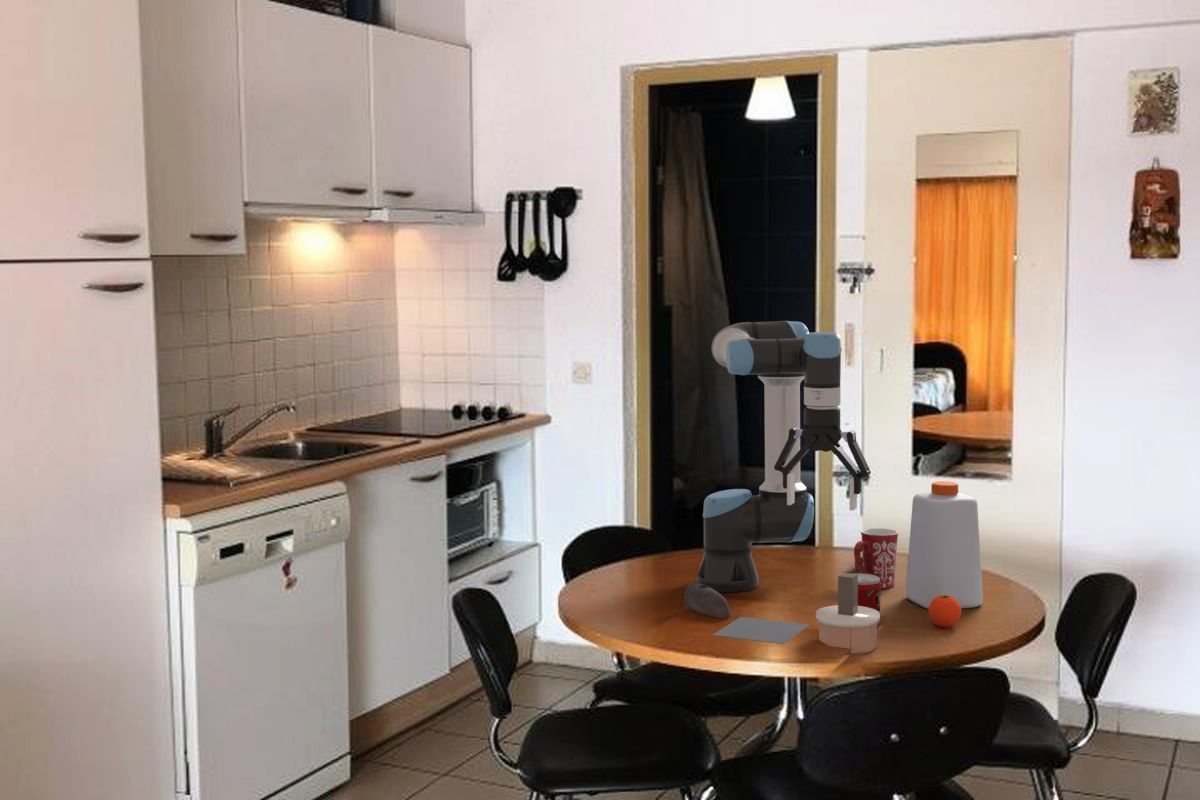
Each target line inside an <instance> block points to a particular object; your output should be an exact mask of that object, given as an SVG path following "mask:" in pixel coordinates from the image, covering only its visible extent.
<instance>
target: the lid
mask: <svg viewBox="0 0 1200 800" xmlns="http://www.w3.org/2000/svg"><path fill="white" fill-rule="evenodd" d="M858 574H859V573H850V572H849V573H848V572H842V573H840V574H839V575H837V604H836V605H829V606H824V607H821V608H818V609H817V610H816V612H815V617H816V621H817V622H818V623H819V622H821V623H823V624H826V625H831V626H837V627H865V626H871V625H874V624H877V623H878V622H879V621H880V622H881V612H880V613H879V612H878V611H877V610H874V609H872V608H868V607H863V606H858ZM880 622H879V623H880ZM879 623H878V624H879ZM878 624H877V625H878Z"/></svg>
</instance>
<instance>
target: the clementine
mask: <svg viewBox="0 0 1200 800" xmlns="http://www.w3.org/2000/svg"><path fill="white" fill-rule="evenodd" d="M928 616H929V618H930V620H931V621H932V623H934V625H936V626H939V627H941V628H950V627H953V626H955V625H957V623H958V622H959V621H960V618H961V617H962V609H961V607H960V605H959V603H958V601H957V600H956V599H954V598H953V597H951V596H948V595H946V594H940V596H937V597H936V598H934V599H933V600H932V601H931V603H930V605H929V609H928Z"/></svg>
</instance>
